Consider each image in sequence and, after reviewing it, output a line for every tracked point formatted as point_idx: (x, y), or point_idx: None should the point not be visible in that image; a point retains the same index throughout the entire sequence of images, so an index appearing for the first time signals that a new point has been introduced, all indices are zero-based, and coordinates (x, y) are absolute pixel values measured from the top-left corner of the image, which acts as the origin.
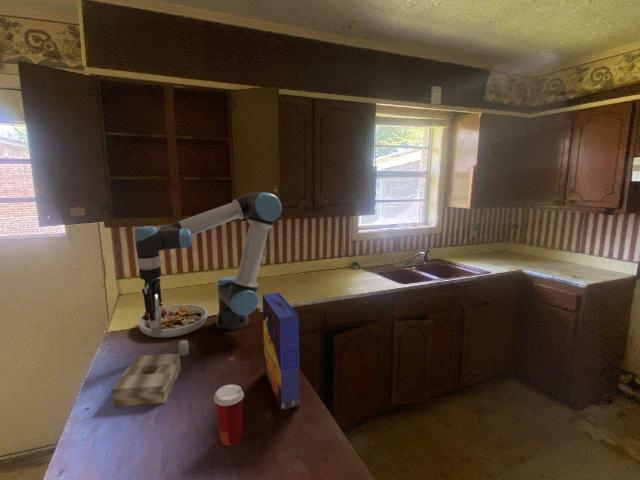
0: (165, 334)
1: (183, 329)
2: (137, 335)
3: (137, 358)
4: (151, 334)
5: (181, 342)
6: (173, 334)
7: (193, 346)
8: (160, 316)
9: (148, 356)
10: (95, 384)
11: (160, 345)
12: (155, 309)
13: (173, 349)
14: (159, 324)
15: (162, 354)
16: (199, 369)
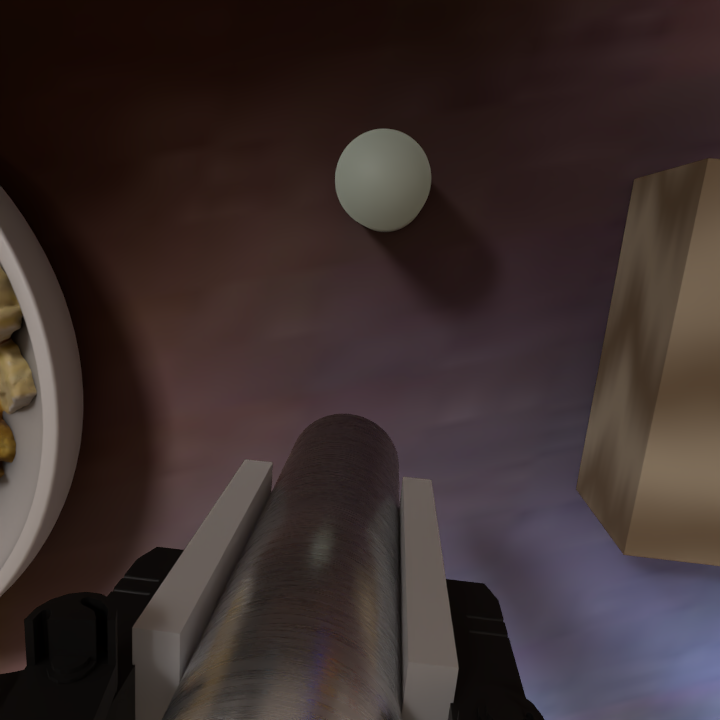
0: (80, 399)
1: (22, 241)
2: (5, 607)
3: (676, 538)
4: (59, 514)
5: (384, 197)
6: (73, 330)
7: (266, 127)
8: (246, 512)
9: (668, 454)
10: (662, 697)
11: (199, 410)
12: (392, 714)
13: (289, 295)
14: (370, 474)
15: (671, 333)
16: (706, 9)
